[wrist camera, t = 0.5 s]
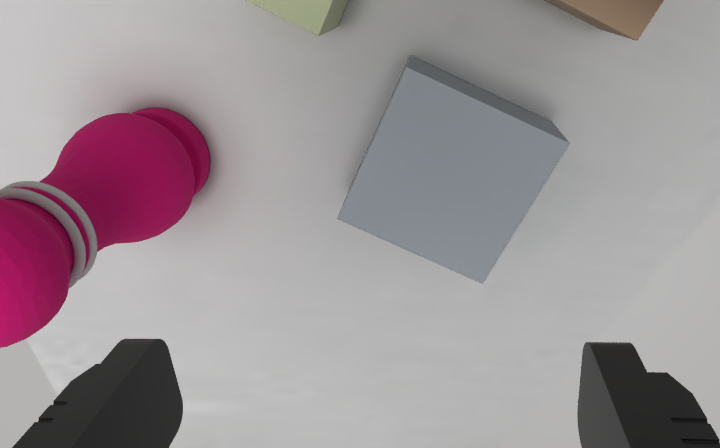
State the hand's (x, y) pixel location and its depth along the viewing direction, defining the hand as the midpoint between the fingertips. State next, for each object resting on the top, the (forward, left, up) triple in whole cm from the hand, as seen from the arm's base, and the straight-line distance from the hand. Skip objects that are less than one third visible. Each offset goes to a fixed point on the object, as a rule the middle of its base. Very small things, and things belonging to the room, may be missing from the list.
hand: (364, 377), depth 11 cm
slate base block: (+2, +3, -25) cm, 25 cm away
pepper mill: (+10, -13, -25) cm, 30 cm away
